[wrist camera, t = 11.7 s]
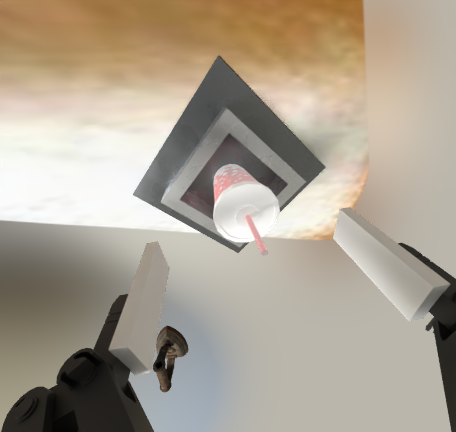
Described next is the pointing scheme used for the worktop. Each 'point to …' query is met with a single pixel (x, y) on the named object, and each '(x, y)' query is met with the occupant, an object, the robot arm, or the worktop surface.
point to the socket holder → (224, 153)
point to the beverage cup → (243, 206)
